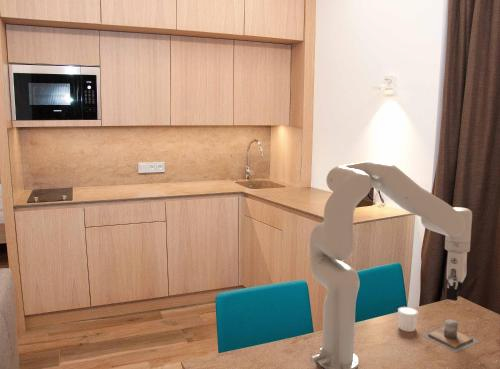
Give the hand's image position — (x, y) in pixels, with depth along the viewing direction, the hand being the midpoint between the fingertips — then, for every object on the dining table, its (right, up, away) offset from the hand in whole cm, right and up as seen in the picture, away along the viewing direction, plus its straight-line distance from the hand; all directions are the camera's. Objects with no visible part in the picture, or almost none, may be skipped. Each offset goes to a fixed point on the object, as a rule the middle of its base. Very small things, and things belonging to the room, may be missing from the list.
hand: (454, 294), depth 152 cm
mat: (0, -16, +2) cm, 16 cm away
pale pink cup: (-12, -15, +10) cm, 22 cm away
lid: (0, -15, +2) cm, 16 cm away
